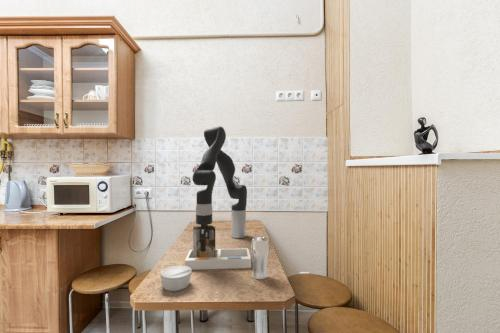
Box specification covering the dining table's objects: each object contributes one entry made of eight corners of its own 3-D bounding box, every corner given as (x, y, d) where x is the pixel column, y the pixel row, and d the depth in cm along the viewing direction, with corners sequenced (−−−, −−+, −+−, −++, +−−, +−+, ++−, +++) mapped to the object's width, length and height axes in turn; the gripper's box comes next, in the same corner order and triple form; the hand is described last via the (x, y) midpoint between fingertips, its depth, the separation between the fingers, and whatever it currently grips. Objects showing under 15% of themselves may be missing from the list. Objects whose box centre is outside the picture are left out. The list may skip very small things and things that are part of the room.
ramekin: (183, 294, 85) (183, 278, 85) (154, 291, 87) (154, 276, 87) (196, 280, 96) (196, 266, 96) (169, 277, 98) (169, 264, 98)
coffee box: (211, 257, 119) (211, 224, 119) (215, 262, 113) (216, 227, 114) (192, 260, 115) (192, 226, 115) (196, 265, 109) (196, 229, 110)
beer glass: (250, 273, 102) (250, 236, 103) (267, 272, 103) (267, 236, 103) (252, 280, 95) (252, 241, 96) (269, 279, 96) (270, 241, 96)
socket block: (190, 257, 119) (190, 249, 120) (248, 256, 122) (248, 247, 122) (184, 270, 105) (184, 259, 105) (250, 267, 108) (251, 258, 108)
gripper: (197, 210, 121) (197, 243, 121) (193, 216, 107) (193, 253, 107) (213, 210, 122) (213, 243, 122) (211, 216, 108) (211, 253, 107)
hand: (203, 248), depth 114 cm, fingers open, 8 cm apart
